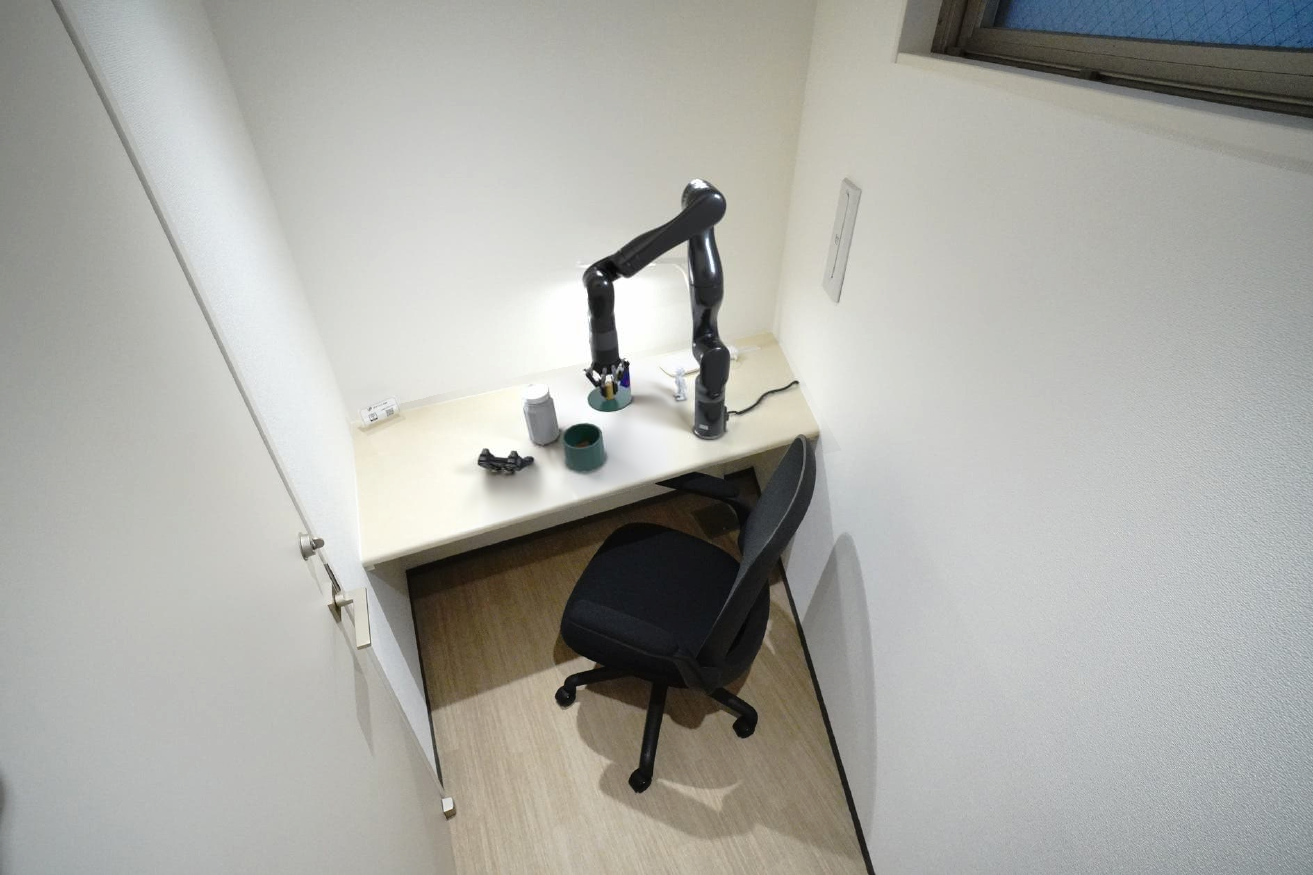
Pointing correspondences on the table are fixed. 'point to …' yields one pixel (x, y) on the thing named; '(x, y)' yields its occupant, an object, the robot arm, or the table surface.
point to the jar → (540, 414)
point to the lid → (609, 398)
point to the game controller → (503, 461)
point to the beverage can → (625, 380)
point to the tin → (583, 456)
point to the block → (582, 444)
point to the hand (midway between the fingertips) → (609, 394)
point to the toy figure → (680, 382)
